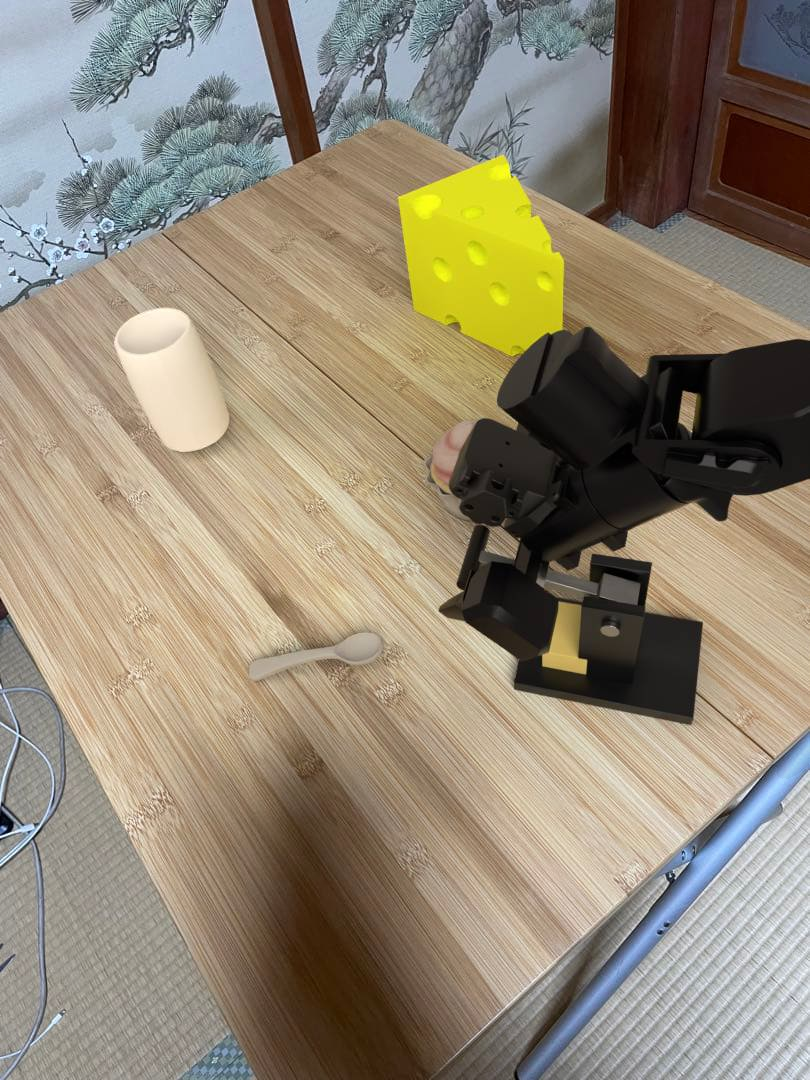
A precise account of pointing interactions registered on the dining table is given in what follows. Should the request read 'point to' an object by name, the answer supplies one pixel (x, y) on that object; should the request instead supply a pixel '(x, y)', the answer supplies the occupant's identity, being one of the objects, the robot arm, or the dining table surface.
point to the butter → (566, 641)
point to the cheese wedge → (483, 258)
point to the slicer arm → (549, 574)
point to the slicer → (625, 654)
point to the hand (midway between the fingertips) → (458, 564)
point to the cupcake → (448, 464)
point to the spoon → (322, 655)
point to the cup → (173, 378)
